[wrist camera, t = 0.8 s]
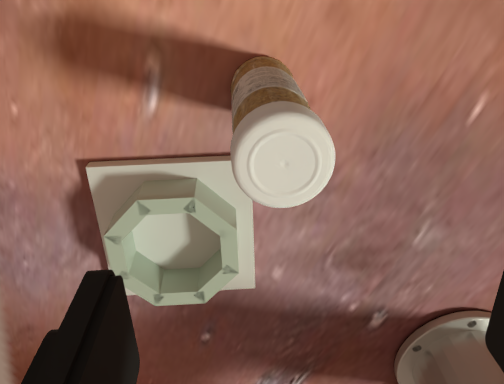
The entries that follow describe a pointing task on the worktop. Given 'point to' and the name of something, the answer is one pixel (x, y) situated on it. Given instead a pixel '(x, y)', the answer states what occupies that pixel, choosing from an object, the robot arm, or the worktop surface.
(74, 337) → the robot arm
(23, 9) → the worktop surface
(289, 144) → the sprinkles bottle
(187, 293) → the bottle collar
